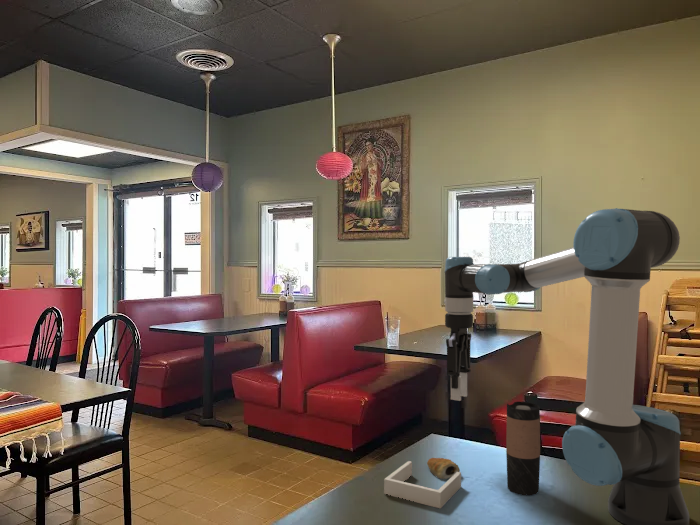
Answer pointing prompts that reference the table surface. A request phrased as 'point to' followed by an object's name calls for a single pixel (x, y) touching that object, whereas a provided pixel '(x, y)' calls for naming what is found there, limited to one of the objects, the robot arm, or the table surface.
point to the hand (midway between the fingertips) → (459, 397)
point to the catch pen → (420, 488)
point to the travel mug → (523, 448)
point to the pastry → (442, 467)
